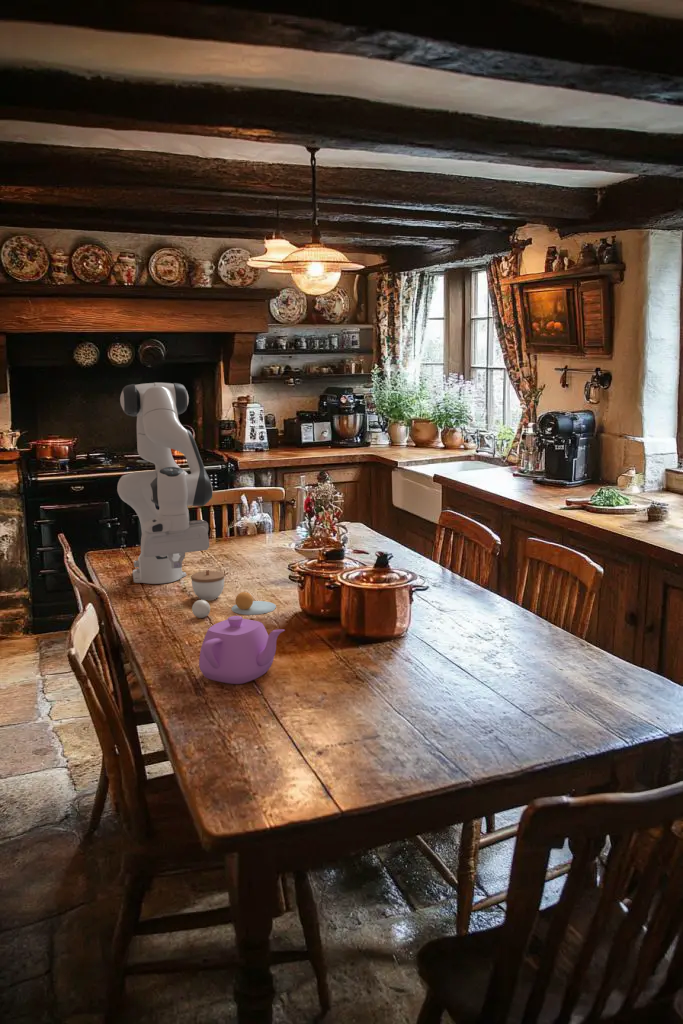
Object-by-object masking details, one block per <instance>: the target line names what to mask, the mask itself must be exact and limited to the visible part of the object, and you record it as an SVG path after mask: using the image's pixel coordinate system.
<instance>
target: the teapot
mask: <svg viewBox="0 0 683 1024" xmlns="http://www.w3.org/2000/svg"><path fill="white" fill-rule="evenodd" d="M285 631H286V630H285V629H281V628H280V629H274V630H271V631H270V633H269V634H268V632H267V629H266V627H265V625H264V623H262V621H257V620H252V619H248V618H243V616H240V615H232V616H229V617H227V619H225V620H222V621H220V622H217V623H215V624H213V625H212V626H210V627H209V628H208V629H207V630H206V633H205V636H204V639H203V642H202V645H201V647H200V651H199V661H198V667H199V671H200V672H201V674H202V675H203V676H204V678H206V679H209V680H211V681H215V682H220V683H223V684H224V683H225V684H230V685H243V684H246V683H249V682H252V681H254V680H256V679H258V678H260V677H262V676H263V675H265V674H266V673H267V672H268V671H269V670H270V668H271V667H272V665H273V662H274V658H275V656H276V651H277V639H278V637H279V635H280V634H281V633H283V632H285Z"/></svg>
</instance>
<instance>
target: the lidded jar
mask: <svg viewBox="0 0 683 1024" xmlns="http://www.w3.org/2000/svg"><path fill="white" fill-rule="evenodd" d="M191 585H192V591H193V593H194V594H195V596H197V597H198V598H199V600H200V599H201V600H205V601H206V600H208V601H214V599H215V600H217V599H219V597H220V596H221V594H223V591H224V587H225V573H223V572H221V571H218V570H217V571H216V570H210V569H206V570H205V571H200V572H199V571H198V572H194V573H193V574H192V575H191ZM216 598H217V599H216Z"/></svg>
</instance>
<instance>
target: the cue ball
mask: <svg viewBox="0 0 683 1024" xmlns="http://www.w3.org/2000/svg"><path fill="white" fill-rule="evenodd" d="M191 612H192V614H193V615H194V616H195V617H196V618H199V619H203V618H206V617H207V616H209V614H210V612H211V605H210V603H209V602H208V601H206V600H200V599H198V600H196V601H195V602H193V604H192V607H191Z"/></svg>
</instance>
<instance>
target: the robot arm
mask: <svg viewBox="0 0 683 1024" xmlns="http://www.w3.org/2000/svg"><path fill="white" fill-rule="evenodd" d="M189 399H190V397H189V394H188V390H187V389H186V387H185V385H184V384H181V383H179V382H173V383H171V382H149V383H146V382H145V383H140V384H135V383H132V384H128V385H125V386H124V387H123V388H122V390H121V393H120V398H119V401H120V406H121V408H122V411H123V413H124V414H126V416H130V417H136V442H137V443H136V445H137V448H136V449H137V454H138V455H139V457H140V458H141V459H143V460H145V461H147V462H149V463H151V464H154V467H155V469H154V470H149V471H148V470H146V471H136V472H130V473H127V474H124V475H121V477H120V478H119V479H118V482H117V486H116V487H117V489H116V491H117V494H118V496H119V498H120V500H122V501H123V502H124V503H126V504H127V505H128V506H130V507H131V508H132V509H133V510H134V511H135V513H136V515H137V517H138V519H139V522H140V523H139V524H140V530H141V536H140V538H141V539H140V554H139V556H138V558H137V559H138V560H134V561H133V566H134V568H135V569H133V570H132V578H133V579H132V581H133V583H137V584H138V583H139V584H140V583H141V584H142V583H143V584H153V585H155V584H157V585H158V584H168V583H173V582H175V581H178V580H180V579H181V578H184V577H186V576H187V572H185V571H183V561H184V559H185V557H186V553H194V552H201V551H208V550H209V547H210V539H209V534H208V533H209V523H208V522H207V521H206V520H204V519H197V520H190V513H189V512H190V511H189V510H190V509H189V507H190V506H191V507H192V506H193V507H204V506H205V505H207V504H208V503H209V501H211V499H212V498H213V492H214V491H213V485H212V482H211V479H210V477H209V475H208V473H207V471H206V468H205V465H204V463H203V460H202V457H201V455H200V451H199V448H198V445H197V444H196V440H195V438H194V435H193V434H192V432H191V431H190V430H189V429H187V428H186V427H184V426H183V425H182V423H181V422H180V419H179V416H180V415H181V414H183V413H185V412H186V411H187V409H188V405H189V402H190V401H189ZM172 450H174V451H177V452H179V453H180V454H182V455H183V456H184V457H185V459H186V462H187V465H188V468H189V471H190V473H188V472H187V471H186V470H184V469H183V468H181V467H180V466H179V465H178V464H177V463H176V461H175V459H174V457H173V453H172ZM156 506H157V507H159V509H158V508H156Z"/></svg>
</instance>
